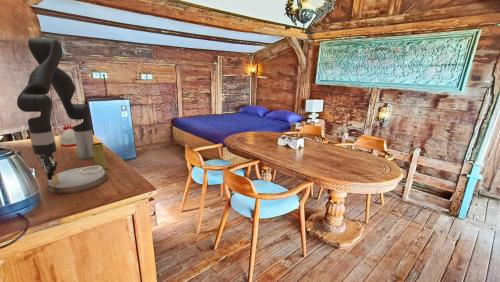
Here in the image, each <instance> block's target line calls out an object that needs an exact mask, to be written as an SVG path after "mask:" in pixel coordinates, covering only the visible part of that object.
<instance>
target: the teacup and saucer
mask: <svg viewBox="0 0 500 282" xmlns="http://www.w3.org/2000/svg"><path fill="white" fill-rule="evenodd" d="M62 134H63V133H62ZM62 134H59V135H58V136H57V138H56V139H55V141H58V142H60V140H61V135H62Z"/></svg>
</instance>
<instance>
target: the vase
mask: <svg viewBox="0 0 500 282" xmlns="http://www.w3.org/2000/svg"><path fill="white" fill-rule="evenodd" d="M92 152H93V157H92V158H93V166H98V165H99V166H101V167H102V168H103V169H104V170H106V169H107V168H108V165H107V159H106V155H105V148H104V143H103V142H94V144H92Z"/></svg>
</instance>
